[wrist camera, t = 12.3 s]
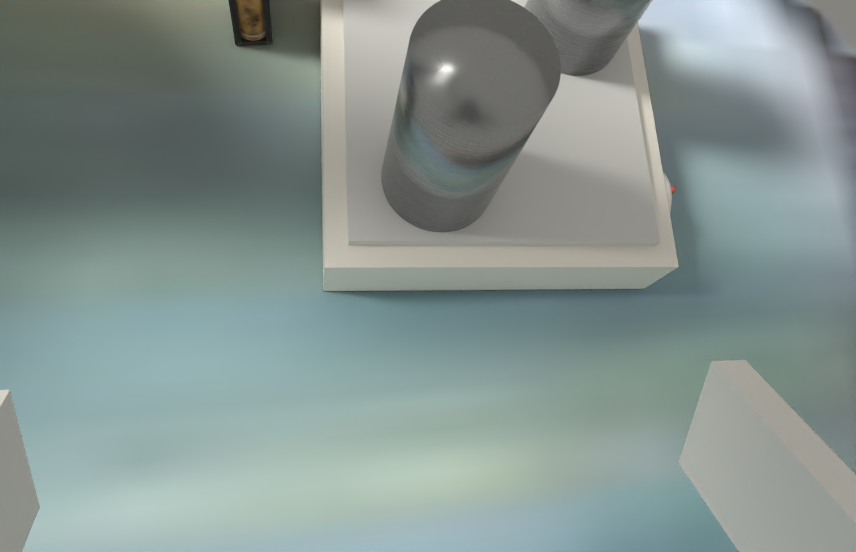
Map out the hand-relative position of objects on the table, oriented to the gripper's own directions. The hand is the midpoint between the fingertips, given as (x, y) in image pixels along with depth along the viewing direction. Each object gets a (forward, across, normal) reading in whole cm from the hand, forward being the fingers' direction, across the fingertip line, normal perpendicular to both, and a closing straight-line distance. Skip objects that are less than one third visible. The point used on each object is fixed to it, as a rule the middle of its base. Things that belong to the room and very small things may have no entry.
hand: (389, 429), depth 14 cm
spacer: (+18, +4, -2) cm, 19 cm away
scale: (+24, +8, -2) cm, 25 cm away
